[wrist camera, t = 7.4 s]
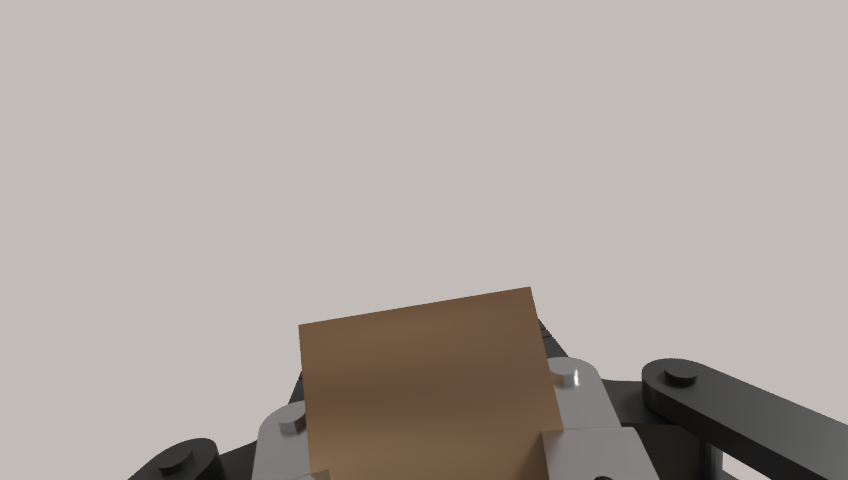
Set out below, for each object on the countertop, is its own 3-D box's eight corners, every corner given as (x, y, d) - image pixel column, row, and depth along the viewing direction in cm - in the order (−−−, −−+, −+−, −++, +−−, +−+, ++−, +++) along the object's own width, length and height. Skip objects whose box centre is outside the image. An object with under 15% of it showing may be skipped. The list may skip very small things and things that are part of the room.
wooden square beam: (593, 554, 5) (530, 286, 6) (321, 604, 5) (298, 325, 6) (460, 396, 30) (451, 346, 31) (411, 404, 30) (404, 354, 31)
